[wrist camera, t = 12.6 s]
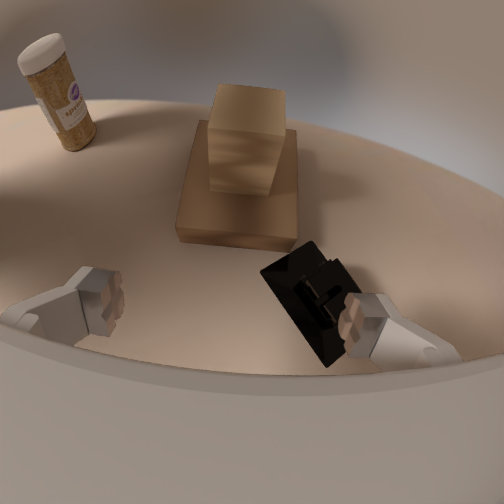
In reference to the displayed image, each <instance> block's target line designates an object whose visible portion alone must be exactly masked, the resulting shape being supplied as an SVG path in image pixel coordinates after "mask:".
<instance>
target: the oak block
mask: <svg viewBox="0 0 504 504" xmlns="http://www.w3.org/2000/svg"><path fill="white" fill-rule="evenodd" d="M207 131H208V158H209V179H210V191H215V192H226V193H237V194H246V195H256V196H265V197H268V196H269V192H270V189H271V185H272V182H273V178H274V175H275V171H276V168H277V164H278V161H279V157H280V154H281V150H282V147H283V143H284V140H285V91H283V90H276V89H269V88H261V87H252V86H243V85H231V84H218V88H217V91H216V95H215V99H214V103H213V107H212V111H211V115H210V119H209V123H208V128H207Z"/></svg>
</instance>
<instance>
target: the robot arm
mask: <svg viewBox="0 0 504 504" xmlns="http://www.w3.org/2000/svg"><path fill="white" fill-rule="evenodd" d="M121 284H122V276H121V273H120V272H119V271H115V270H108V269H102V268H95V267H89V266H82V267H81V268H80V269H79V270H78V271H77V272H76V273H75V274H74V275H73V276H72V277H71V278H70V279H69V281H68V282H67V283H66V284H65V285H64V286H63V287H61V286H59V287H56V288H54V289H51V290H48V291H46V292H43V293H41V294H38V295H36V296H33V297H31V298H28V299H26V300H23V301H21V302H18V303H16V304H13V305H11V306H9V307H8V308H7V309H6V310H5V311H4V313H3V314H2V315H1V316H0V504H504V353H501V354H497V355H493V356H489V357H484V358H480V359H475V360H470V361H465V362H464V360H463V359H462V358H461V356H460V355H459V353H458V352H457V350H456V349H455V348H454V346H453V345H452V344H450V343H448V342H447V341H445V340H443V339H442V338H440V337H438V336H436V335H435V334H433V333H431V332H430V331H428V330H426V329H425V328H423V327H421V326H420V325H418V324H416V323H415V322H413V321H411V320H409V319H408V318H403V317H402V315H401V314H400V313H399V311H398V310H397V308H396V307H395V305H394V304H393V303H392V301H391V300H390V298H389V297H388V296H387V295H386V294H384V293H348V295H347V296H346V299H345V302H344V303H345V306H346V309H345V310H343V311H342V312H341V314H340V317H339V323H338V330H339V334H340V337H341V338H342V339H344V340H345V343H344V347H345V350H346V352H347V355H348V357H349V358H369V359H370V360H371V361H372V362H373V363H374V364H376V365H377V366H378V367H379V368H380V369H381V370H382V371H383V372H382V373H369V374H352V375H317V376H298V375H263V374H245V373H231V372H219V371H209V370H200V369H191V368H183V367H176V366H169V365H162V364H156V363H150V362H144V361H138V360H133V359H128V358H122V357H118V356H113V355H108V354H103V353H99V352H95V351H90V350H86V349H82V348H78V347H74V346H73V345H74V344H76V343H77V342H79V341H80V340H82V339H83V338H84V337H86V336H87V335H89V334H94V335H100V336H106V337H110V335H111V333H112V332H113V330H114V328H115V326H116V323H115V320H117V319H118V318H120V317H121V315H122V313H123V309H124V293H123V291H122V290H121V289H120V285H121ZM88 333H89V334H88Z"/></svg>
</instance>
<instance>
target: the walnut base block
mask: <svg viewBox="0 0 504 504" xmlns="http://www.w3.org/2000/svg"><path fill="white" fill-rule="evenodd" d="M208 123H209V121H205V120H199V123H198V127H197V131H196V135H195V139H194V143H193V147H192V151H191V155H190V159H189V163H188V167H187V172H186V176H185V181H184V185H183V190H182V194H181V199H180V204H179V209H178V214H177V219H176V224H175V228H176V231H177V234H178V237H179V240H180V242H186V243H196V244H206V245H217V246H227V247H237V248H247V249H257V250H267V251H277V252H287V253H289V252H290V250H291V248H292V247H293V245H294V244H295V242H296V240H297V238H298V191H297V141H296V130H290V129H285V140H284V143H283V147H282V150H281V154H280V157H279V161H278V164H277V168H276V171H275V175H274V178H273V182H272V185H271V189H270V192H269V196H268V197H265V196H256V195H246V194H237V193H226V192H215V191H210V179H209V158H208V131H207V128H208Z"/></svg>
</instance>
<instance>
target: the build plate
mask: <svg viewBox="0 0 504 504" xmlns="http://www.w3.org/2000/svg"><path fill="white" fill-rule="evenodd" d="M260 274H261V275H262V277H263V278H264V279H265V281H266V282H267V284H268V285H269V287H270V288H271V290H272V291H273V293H274V294H275V295H276V297H277V298H278V300H279V301H280V303H281V304H282V306H283V307H284V308H285V310H286V311H287V313H288V314H289V316H290V317H291V319H292V320H293V321H294V323H295V324H296V326H297V327H298V329H299V330H300V332H301V333H302V334H303V336H304V337H305V339H306V340H307V342H308V343H309V345H310V346H311V347H312V349H313V350H314V352H315V353H316V355H317V356H318V357H319V359H320V360H321V362H322V363H323V365H324V366H325V367H326V368H328V367H329V366H330V365H331V364H333V363H334V362H335V361H336V360H337V359H338V358H340V357H341V356H342V355H343V354H344V353H345V352H346V350H345V347H344V343H345V340H344V339H342V338H341V337H340V334H339V330H338V323H339V317H340V314H341V312H342V311H343V310H345V309H346V306H345V303H344V302H345V299H346V296H347V295H348V293H362V292H361V290H360V289H359V287H358V286H357V284H356V283H355V282H354V280H353V279H352V277H351V276H350V275H349V273H348V272H347V270H346V269H345V268H344V266H343V265H342V264H341V262H340V261H339V259H338V258H336V259H335V260H334V261H332V260H331V259H330V260H329V261H327V259H326V258H325V257H324V255H323V254H322V253H321V251H320V250H319V249H318V247H317V246H316V245H315V243H314V242H313V241H309V242H307V243H306V244H304V245H303V246H301V247H299V248H298V249H296V250H294V251H293V252H291V253H289V254H288V255H286V256H284V257H283V258H281V259H279V260H277V261H276V262H274V263H272V264H271V265H269V266H267V267H266V268H264V269H262V270H261V271H260Z"/></svg>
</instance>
